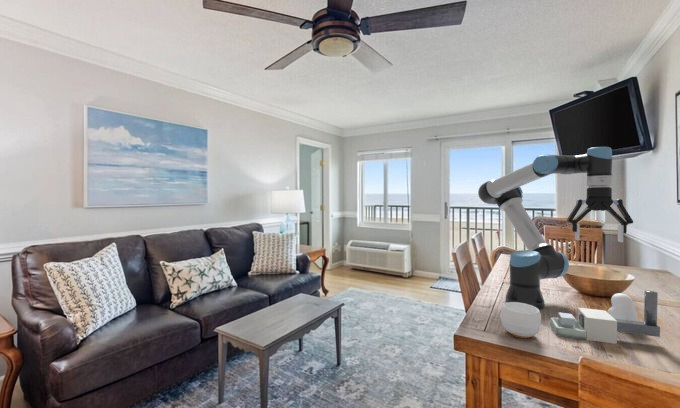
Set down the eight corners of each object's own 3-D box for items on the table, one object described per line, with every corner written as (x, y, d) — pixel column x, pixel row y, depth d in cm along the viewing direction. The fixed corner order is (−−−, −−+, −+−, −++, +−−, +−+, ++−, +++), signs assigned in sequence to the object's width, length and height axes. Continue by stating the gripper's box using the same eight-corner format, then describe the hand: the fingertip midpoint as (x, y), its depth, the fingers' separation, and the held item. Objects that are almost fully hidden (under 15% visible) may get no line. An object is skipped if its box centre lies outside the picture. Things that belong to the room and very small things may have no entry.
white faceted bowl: (498, 325, 116) (498, 299, 116) (536, 330, 112) (536, 303, 112) (502, 339, 105) (503, 311, 105) (545, 345, 100) (545, 316, 100)
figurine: (623, 322, 118) (623, 291, 118) (643, 330, 110) (643, 297, 110) (605, 322, 118) (605, 291, 118) (624, 331, 110) (624, 298, 110)
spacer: (575, 333, 107) (561, 331, 109) (570, 327, 112) (557, 325, 114) (575, 318, 107) (561, 317, 109) (571, 313, 112) (557, 312, 113)
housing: (586, 339, 104) (586, 317, 104) (577, 327, 113) (577, 307, 113) (616, 344, 101) (617, 321, 101) (604, 331, 110) (605, 310, 110)
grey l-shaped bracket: (581, 326, 107) (582, 286, 107) (578, 323, 110) (579, 284, 110) (659, 337, 99) (660, 293, 99) (654, 332, 102) (655, 291, 102)
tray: (556, 335, 107) (556, 327, 107) (550, 324, 117) (550, 317, 117) (585, 339, 104) (586, 331, 104) (576, 327, 113) (576, 320, 113)
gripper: (563, 187, 122) (562, 240, 123) (645, 186, 112) (644, 243, 113) (558, 187, 129) (558, 238, 130) (635, 186, 119) (634, 241, 120)
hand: (598, 241), depth 121 cm, fingers open, 13 cm apart
